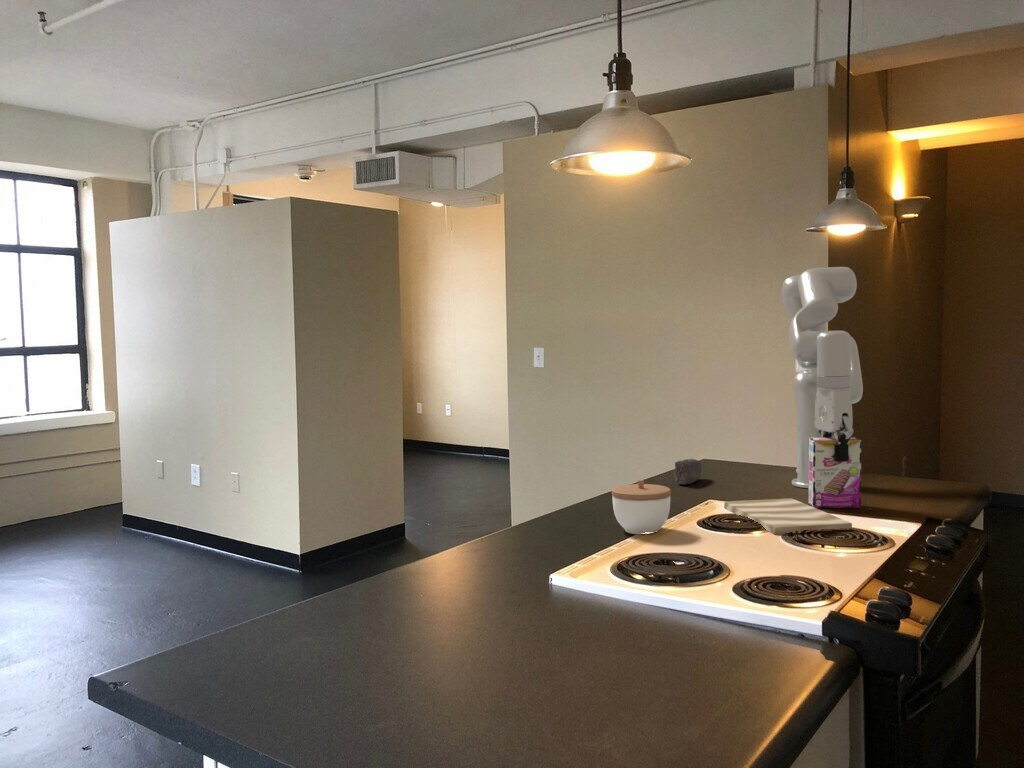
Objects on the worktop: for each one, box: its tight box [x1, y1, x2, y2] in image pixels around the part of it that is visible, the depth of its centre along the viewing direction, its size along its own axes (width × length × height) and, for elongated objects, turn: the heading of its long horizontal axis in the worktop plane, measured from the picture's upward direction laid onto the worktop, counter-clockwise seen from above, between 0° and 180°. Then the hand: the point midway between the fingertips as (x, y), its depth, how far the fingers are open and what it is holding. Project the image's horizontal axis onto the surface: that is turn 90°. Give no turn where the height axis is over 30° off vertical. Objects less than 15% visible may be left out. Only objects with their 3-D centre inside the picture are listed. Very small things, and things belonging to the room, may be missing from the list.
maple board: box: [723, 497, 853, 536], centre depth 187 cm, size 28×17×2 cm, turn 7°
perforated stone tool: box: [673, 458, 703, 485], centre depth 235 cm, size 15×5×7 cm, turn 143°
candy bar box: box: [808, 437, 862, 509], centre depth 197 cm, size 11×5×16 cm, turn 84°
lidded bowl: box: [611, 479, 672, 535], centre depth 178 cm, size 13×13×11 cm
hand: (834, 458), depth 197 cm, fingers closed on candy bar box, 5 cm apart
